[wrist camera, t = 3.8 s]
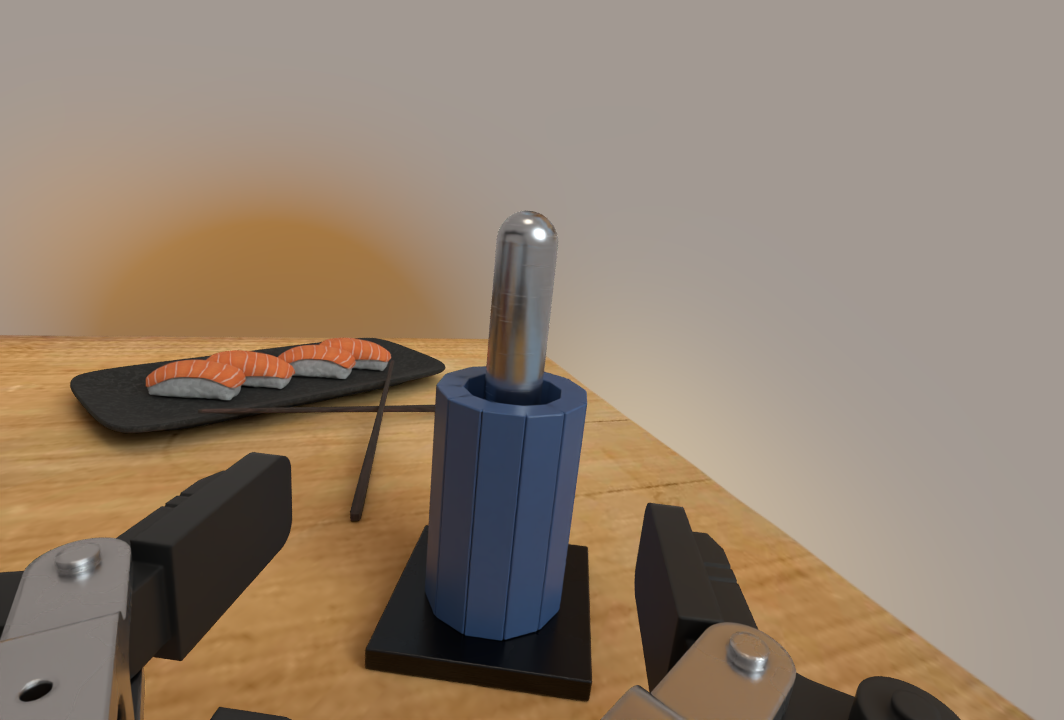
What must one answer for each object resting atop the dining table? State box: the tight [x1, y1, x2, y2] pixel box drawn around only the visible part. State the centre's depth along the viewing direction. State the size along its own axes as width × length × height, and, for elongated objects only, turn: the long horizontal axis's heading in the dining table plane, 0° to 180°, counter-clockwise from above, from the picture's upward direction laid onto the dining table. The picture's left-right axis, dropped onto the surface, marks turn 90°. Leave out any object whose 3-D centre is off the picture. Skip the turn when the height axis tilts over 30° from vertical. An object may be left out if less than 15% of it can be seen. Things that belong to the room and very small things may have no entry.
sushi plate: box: [70, 338, 445, 521], centre depth 45 cm, size 29×30×4 cm
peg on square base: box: [365, 211, 592, 701], centre depth 24 cm, size 9×9×18 cm
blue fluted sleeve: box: [425, 366, 587, 641], centre depth 24 cm, size 6×6×10 cm
